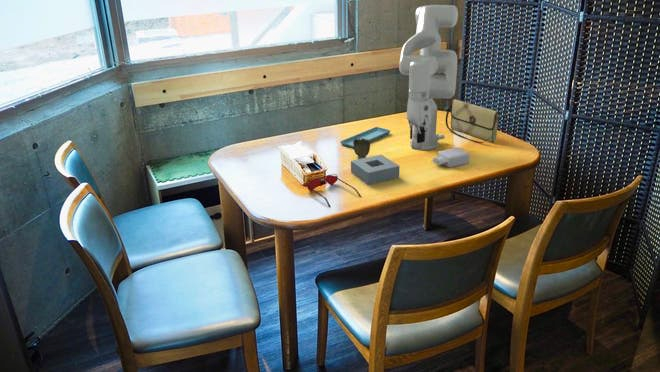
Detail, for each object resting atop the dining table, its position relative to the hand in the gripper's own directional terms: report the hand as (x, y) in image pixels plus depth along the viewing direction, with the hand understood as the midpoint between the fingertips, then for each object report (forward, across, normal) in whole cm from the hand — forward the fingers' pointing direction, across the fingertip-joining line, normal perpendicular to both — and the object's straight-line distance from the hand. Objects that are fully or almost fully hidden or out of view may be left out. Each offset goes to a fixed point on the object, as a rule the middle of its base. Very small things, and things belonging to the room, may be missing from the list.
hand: (417, 139), depth 211 cm
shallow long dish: (+17, +45, -2) cm, 48 cm away
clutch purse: (+17, +24, -46) cm, 54 cm away
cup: (+15, +25, +11) cm, 31 cm away
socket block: (+14, +7, +15) cm, 22 cm away
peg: (+3, 0, 0) cm, 3 cm away
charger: (+15, +3, -17) cm, 23 cm away
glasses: (+14, -1, +37) cm, 40 cm away
